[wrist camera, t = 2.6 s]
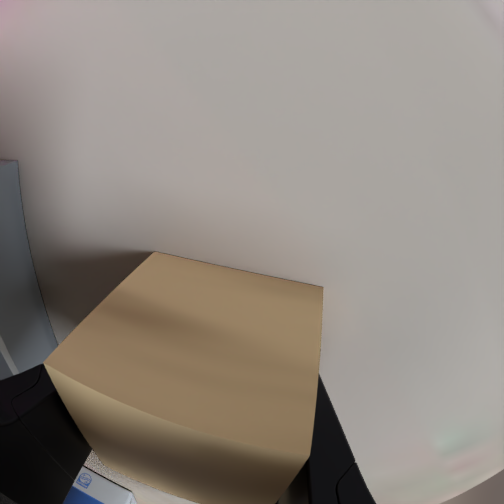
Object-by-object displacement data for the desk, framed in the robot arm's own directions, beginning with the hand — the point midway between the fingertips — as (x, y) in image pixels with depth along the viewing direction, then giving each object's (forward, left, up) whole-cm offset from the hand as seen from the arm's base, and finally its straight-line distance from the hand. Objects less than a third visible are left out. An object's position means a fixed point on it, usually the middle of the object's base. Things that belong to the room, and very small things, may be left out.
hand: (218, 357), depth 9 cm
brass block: (0, 0, -1) cm, 1 cm away
